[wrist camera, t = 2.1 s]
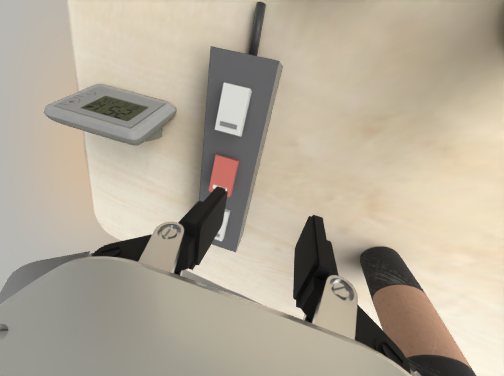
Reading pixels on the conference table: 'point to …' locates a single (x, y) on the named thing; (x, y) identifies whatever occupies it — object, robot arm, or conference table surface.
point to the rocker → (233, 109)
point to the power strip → (254, 131)
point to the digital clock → (113, 114)
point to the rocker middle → (224, 173)
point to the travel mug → (411, 316)
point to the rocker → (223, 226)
